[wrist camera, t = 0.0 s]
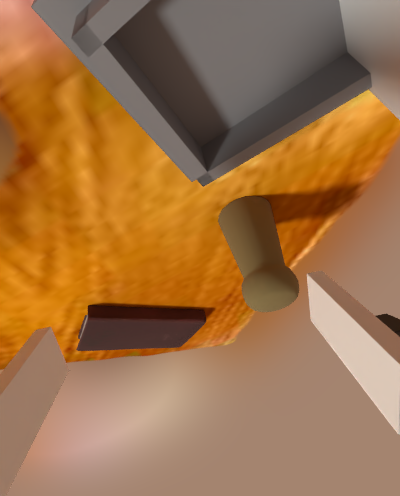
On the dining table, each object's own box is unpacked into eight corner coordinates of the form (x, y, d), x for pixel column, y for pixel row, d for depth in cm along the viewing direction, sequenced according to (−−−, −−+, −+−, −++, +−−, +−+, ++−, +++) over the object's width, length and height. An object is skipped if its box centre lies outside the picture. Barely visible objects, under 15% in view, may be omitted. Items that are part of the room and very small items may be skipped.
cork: (208, 226, 33) (230, 317, 27) (238, 189, 29) (272, 285, 23) (249, 237, 36) (278, 321, 30) (282, 204, 32) (323, 293, 26)
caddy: (189, 173, 27) (211, 270, 21) (34, -1, 16) (-17, 100, 10) (373, 58, 21) (477, 146, 15) (335, -337, 10) (668, -605, 4)
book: (88, 301, 43) (87, 322, 42) (204, 306, 52) (207, 324, 50) (77, 333, 52) (75, 351, 50) (178, 333, 60) (180, 349, 59)
